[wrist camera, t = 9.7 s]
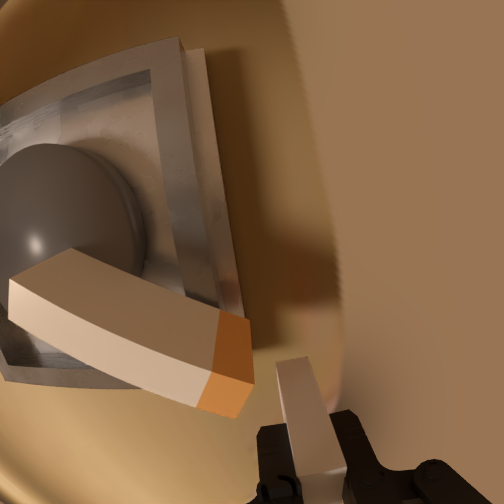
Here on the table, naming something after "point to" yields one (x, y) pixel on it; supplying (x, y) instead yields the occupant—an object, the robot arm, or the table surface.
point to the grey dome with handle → (109, 284)
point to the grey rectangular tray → (134, 181)
